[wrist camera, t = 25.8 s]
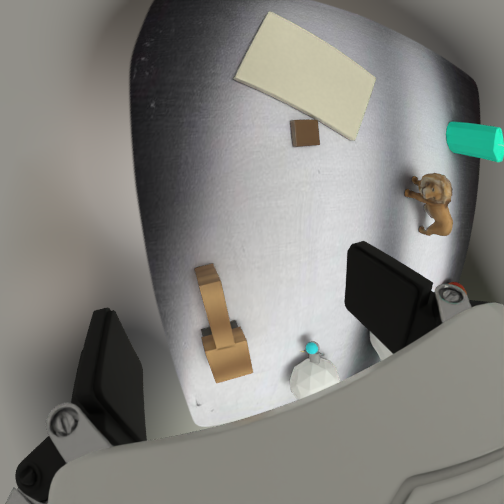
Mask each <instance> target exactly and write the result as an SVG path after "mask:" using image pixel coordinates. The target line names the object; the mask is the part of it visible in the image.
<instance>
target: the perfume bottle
mask: <svg viewBox="0 0 504 504" xmlns="http://www.w3.org/2000/svg"><path fill="white" fill-rule="evenodd" d="M305 351H306V352H308V353H309V356H310V358H307V359H306V360H304V361H303V362H301V363H300V364H298V365H297V366H295V367H294V370H293V372H292V375H291V378H290V385H291V392H292V393H293V394H294V396H295V397H296V398H297V399H298V400H299V399H302V398H304V397H307V396H309V395H311V394H314V393H316V392H319V391H321V390H323V389H325V388H328V387H330V386H332V385H334V384H337V383H339V382H340V378H339V375H338V372H337V369H336V367H335V366H334V365H333V364H332V362H331V361H329V360H326V359H323V358H320V355H324V354H321V353H319V352H318V351H319V345H318V343H316V342H314V341H311V342H308V343H307V345H306V350H304V351H301V352H305Z"/></svg>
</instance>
